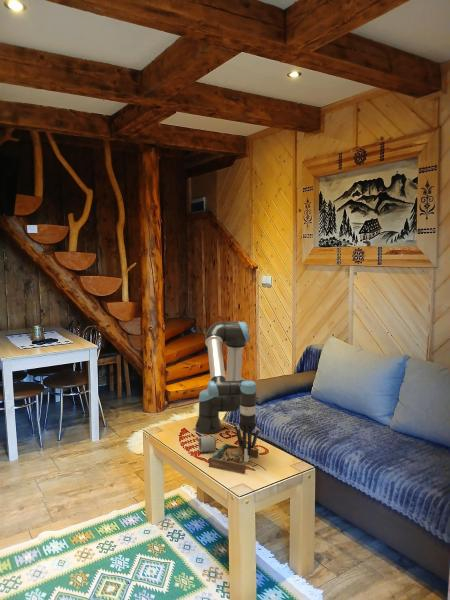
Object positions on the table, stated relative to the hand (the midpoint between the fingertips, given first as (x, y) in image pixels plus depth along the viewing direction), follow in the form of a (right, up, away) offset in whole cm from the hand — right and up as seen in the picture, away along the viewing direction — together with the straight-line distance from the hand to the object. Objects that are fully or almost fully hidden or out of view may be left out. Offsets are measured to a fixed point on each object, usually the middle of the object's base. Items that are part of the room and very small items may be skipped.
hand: (246, 461), depth 227 cm
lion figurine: (-4, 0, 0) cm, 4 cm away
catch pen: (-6, -1, +2) cm, 6 cm away
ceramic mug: (-20, 0, +16) cm, 26 cm away
